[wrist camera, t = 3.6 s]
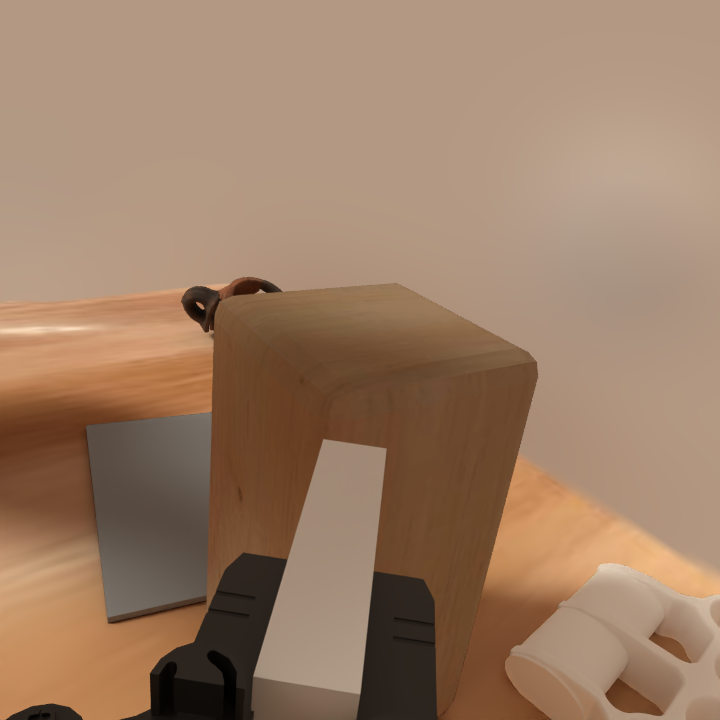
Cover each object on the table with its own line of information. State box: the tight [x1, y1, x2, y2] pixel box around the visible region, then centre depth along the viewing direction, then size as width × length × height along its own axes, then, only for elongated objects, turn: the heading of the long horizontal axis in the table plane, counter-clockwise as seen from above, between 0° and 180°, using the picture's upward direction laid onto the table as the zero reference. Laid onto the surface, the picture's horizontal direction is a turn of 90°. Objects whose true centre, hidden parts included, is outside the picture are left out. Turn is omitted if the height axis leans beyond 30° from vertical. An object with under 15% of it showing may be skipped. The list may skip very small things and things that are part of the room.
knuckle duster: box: [505, 563, 720, 720], centre depth 33 cm, size 3×18×15 cm
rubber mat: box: [86, 412, 212, 623], centre depth 48 cm, size 21×24×1 cm
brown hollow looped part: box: [181, 277, 282, 332], centre depth 71 cm, size 12×10×8 cm
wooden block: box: [206, 283, 538, 716], centre depth 29 cm, size 10×10×20 cm
